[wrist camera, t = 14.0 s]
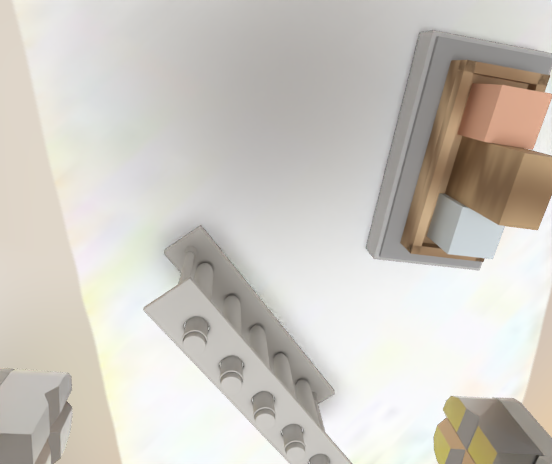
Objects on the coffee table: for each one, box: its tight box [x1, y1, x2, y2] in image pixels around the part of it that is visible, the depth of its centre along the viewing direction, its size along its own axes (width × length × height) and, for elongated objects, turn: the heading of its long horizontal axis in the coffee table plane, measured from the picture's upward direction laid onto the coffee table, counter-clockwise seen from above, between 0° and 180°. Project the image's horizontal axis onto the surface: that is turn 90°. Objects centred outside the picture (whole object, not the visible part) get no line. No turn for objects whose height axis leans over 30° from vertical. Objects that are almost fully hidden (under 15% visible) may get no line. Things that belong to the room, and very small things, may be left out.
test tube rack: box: [143, 225, 352, 464], centre depth 39 cm, size 25×4×13 cm, turn 34°
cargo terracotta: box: [457, 83, 552, 150], centre depth 32 cm, size 4×4×4 cm
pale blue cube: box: [427, 193, 505, 259], centre depth 36 cm, size 4×4×4 cm
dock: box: [366, 30, 552, 270], centre depth 39 cm, size 20×11×3 cm, turn 171°
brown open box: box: [400, 60, 552, 262], centre depth 33 cm, size 16×7×10 cm, turn 171°
